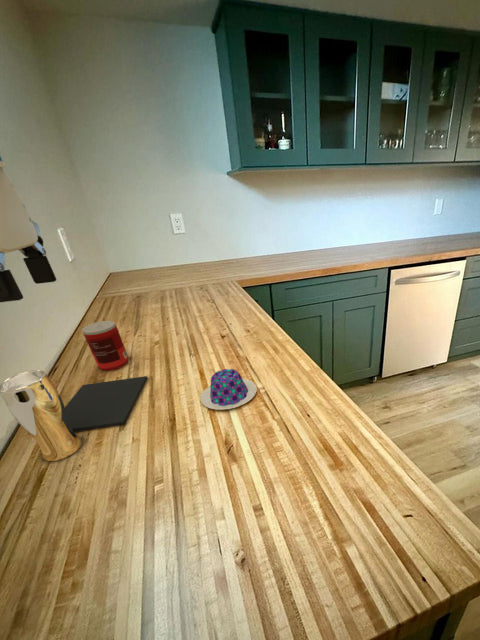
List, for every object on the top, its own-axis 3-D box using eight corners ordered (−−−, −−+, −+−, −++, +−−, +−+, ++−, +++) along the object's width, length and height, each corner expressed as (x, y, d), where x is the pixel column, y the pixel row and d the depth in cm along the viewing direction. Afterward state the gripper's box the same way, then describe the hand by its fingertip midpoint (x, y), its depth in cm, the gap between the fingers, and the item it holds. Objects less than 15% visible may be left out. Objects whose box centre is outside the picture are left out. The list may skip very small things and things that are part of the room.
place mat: (45, 436, 65) (43, 433, 65) (84, 387, 81) (82, 384, 80) (124, 424, 67) (123, 421, 66) (147, 378, 82) (146, 375, 82)
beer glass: (45, 444, 63) (3, 376, 56) (86, 432, 65) (51, 365, 58) (36, 468, 58) (-12, 396, 50) (81, 454, 60) (42, 384, 52)
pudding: (240, 416, 66) (235, 394, 63) (189, 407, 70) (183, 386, 67) (266, 384, 75) (263, 363, 73) (220, 378, 79) (215, 358, 77)
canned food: (120, 355, 95) (105, 318, 90) (135, 361, 91) (121, 323, 85) (93, 367, 90) (76, 329, 85) (108, 374, 86) (91, 334, 80)
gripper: (-23, 161, 49) (34, 279, 58) (-137, 153, 34) (-38, 313, 43) (32, 157, 50) (79, 274, 58) (-57, 147, 35) (24, 306, 43)
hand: (30, 290), depth 51 cm, fingers open, 9 cm apart
